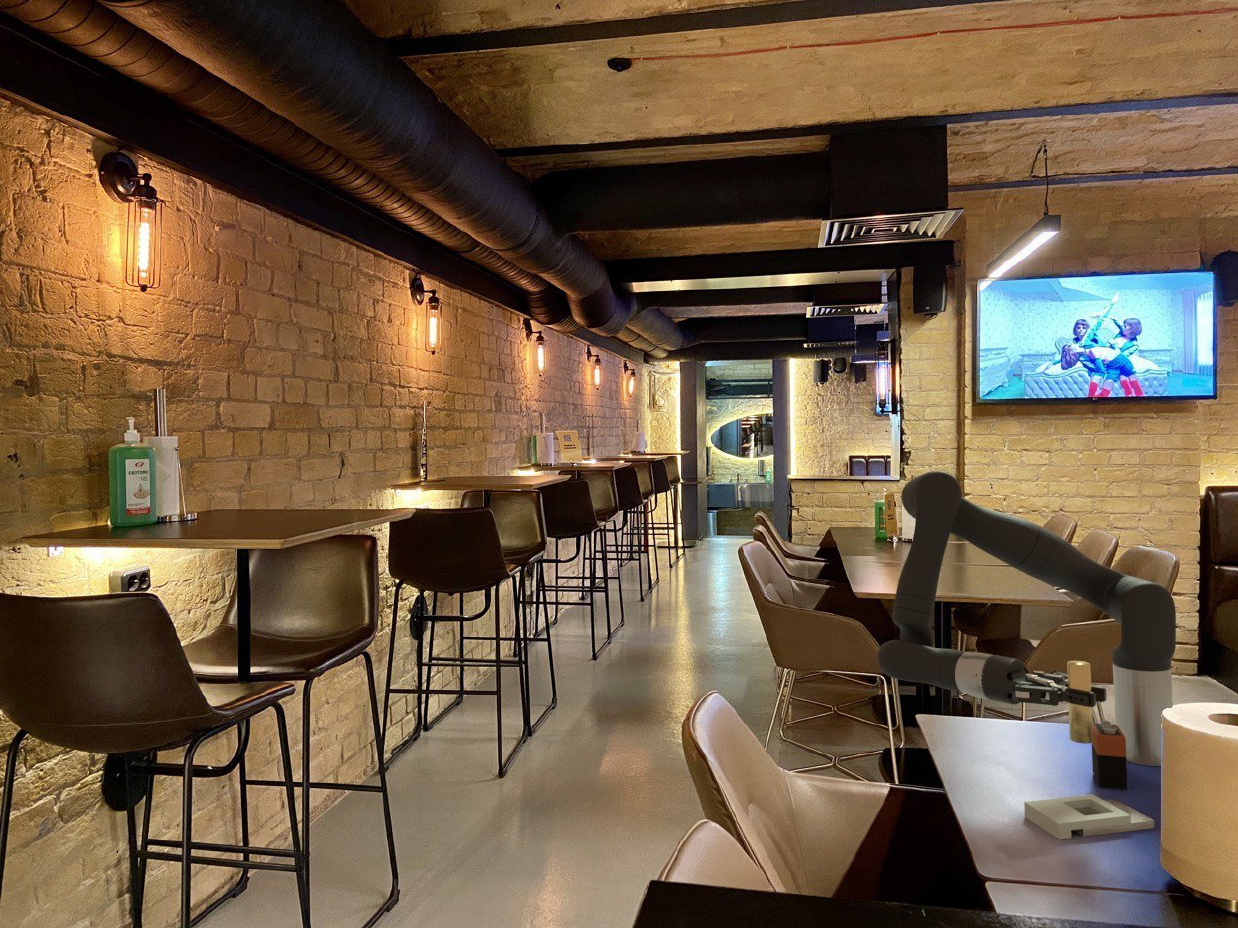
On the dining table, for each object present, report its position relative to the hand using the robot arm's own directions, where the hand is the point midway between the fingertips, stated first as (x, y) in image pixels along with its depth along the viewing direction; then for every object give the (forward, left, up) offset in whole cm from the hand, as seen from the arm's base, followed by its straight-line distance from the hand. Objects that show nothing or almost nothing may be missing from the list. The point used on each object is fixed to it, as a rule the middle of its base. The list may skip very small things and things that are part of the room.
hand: (1099, 697), depth 125 cm
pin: (+1, -2, -7) cm, 8 cm away
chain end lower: (-1, -2, -20) cm, 20 cm away
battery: (-13, -15, -20) cm, 28 cm away
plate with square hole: (+3, -2, -20) cm, 20 cm away
